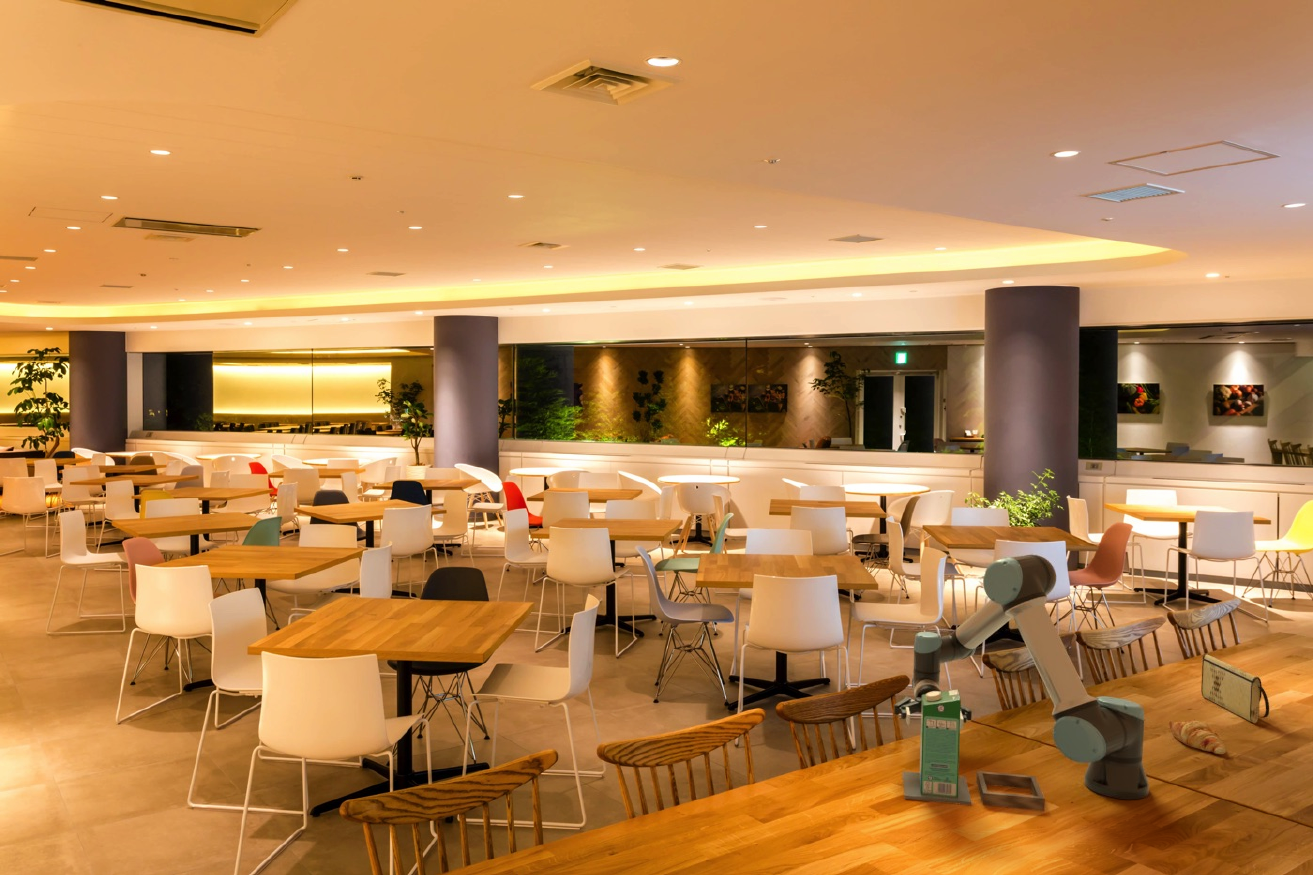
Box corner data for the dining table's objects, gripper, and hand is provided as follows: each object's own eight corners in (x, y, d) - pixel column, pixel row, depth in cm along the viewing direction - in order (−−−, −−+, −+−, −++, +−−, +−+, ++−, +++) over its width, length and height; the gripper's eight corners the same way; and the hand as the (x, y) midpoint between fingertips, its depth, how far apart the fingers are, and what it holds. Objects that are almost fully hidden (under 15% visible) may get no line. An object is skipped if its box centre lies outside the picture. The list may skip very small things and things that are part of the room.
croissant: (1232, 768, 280) (1244, 743, 280) (1206, 754, 278) (1219, 729, 278) (1176, 740, 300) (1188, 717, 301) (1152, 727, 298) (1164, 703, 298)
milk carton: (919, 779, 258) (922, 685, 257) (955, 783, 256) (958, 688, 254) (920, 793, 249) (923, 696, 248) (957, 797, 247) (960, 699, 246)
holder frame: (1034, 787, 256) (1034, 776, 256) (1044, 810, 242) (1044, 798, 242) (976, 782, 259) (976, 770, 259) (982, 804, 245) (983, 793, 245)
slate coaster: (965, 779, 260) (965, 776, 260) (971, 805, 245) (971, 801, 245) (902, 774, 264) (902, 771, 264) (904, 798, 248) (905, 795, 248)
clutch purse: (1275, 726, 306) (1277, 678, 305) (1253, 726, 306) (1255, 678, 305) (1216, 695, 336) (1218, 652, 335) (1196, 695, 335) (1198, 652, 334)
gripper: (974, 713, 279) (984, 739, 258) (883, 706, 283) (886, 732, 263) (974, 687, 278) (985, 711, 257) (884, 680, 283) (886, 704, 262)
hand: (935, 722), depth 260 cm, fingers open, 13 cm apart
